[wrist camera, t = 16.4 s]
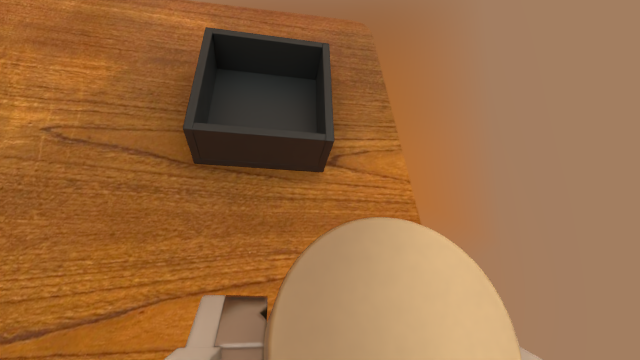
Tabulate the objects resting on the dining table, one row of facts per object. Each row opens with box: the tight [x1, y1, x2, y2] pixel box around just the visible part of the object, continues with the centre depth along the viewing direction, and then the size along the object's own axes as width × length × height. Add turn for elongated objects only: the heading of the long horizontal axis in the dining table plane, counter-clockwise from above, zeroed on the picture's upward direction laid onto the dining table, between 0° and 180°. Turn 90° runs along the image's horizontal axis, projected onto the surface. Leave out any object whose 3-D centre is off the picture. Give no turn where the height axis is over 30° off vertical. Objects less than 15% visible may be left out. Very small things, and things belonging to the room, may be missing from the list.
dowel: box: [264, 217, 522, 360], centre depth 8 cm, size 4×4×9 cm
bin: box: [183, 27, 334, 172], centre depth 35 cm, size 14×14×6 cm
